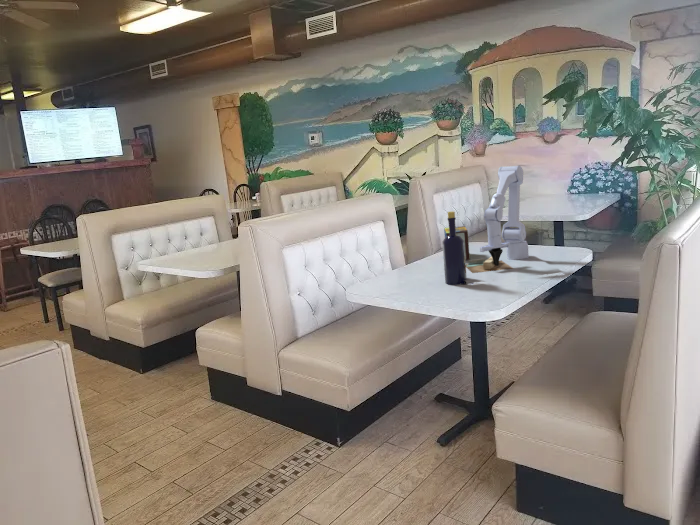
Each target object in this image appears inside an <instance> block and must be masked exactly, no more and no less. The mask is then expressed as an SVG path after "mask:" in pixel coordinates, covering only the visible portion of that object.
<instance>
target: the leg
mask: <svg viewBox="0 0 700 525" xmlns="http://www.w3.org/2000/svg"><path fill="white" fill-rule="evenodd" d="M494 266H495V265H494V261H493V258H492V256H491V255H490V257H489V258H487V259H485V262H483V268H484V269H491V268H493V267H494Z"/></svg>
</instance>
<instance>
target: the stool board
mask: <svg viewBox="0 0 700 525" xmlns="http://www.w3.org/2000/svg"><path fill="white" fill-rule="evenodd" d="M513 269H514V268H513V267H512V266H511V265H510V264H507V263H506V262H504V261H503V260H500V259H499V265H498V266H496V265H495V266H494V267H493V268H491V269H484V268H483V263H482V264H473V265H468V263H466V270H468V271H469V272H471V273H472V274H476V273H477V274H478V273H485V272H486V273H487V272H494V271H503V270H513Z"/></svg>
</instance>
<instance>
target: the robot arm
mask: <svg viewBox="0 0 700 525" xmlns="http://www.w3.org/2000/svg"><path fill="white" fill-rule="evenodd" d="M497 171H498V172H497V177H498V185H497V190H496V193H494V194H493V195H492V197H491V200H490V203H489V205H488V208H486V209H485V210H484V211H483V212H484V213H483V218H484V222H485V226H486V227H487V242H488V243H487V245H484V246H480V247H479V252H480V253H484V252H489V254H490V257H491V256H492V258H493V261H494V265H496V266H498V265H499V261H500V257H501V255H502V253H503V249H505V248H506V258H507V260H514V261H515V260H523V259H529V244H528V241H527V240H526V237H527V231H526V226H525V224H524V223H523V222H521V220H520V206H521V205H520V202H521V198H520V197H521V193H520V192H521V185H522V184H524V170H523V167H522V166H521V165H512V166H510V165H509V166H500V167H499V168H498V170H497ZM507 190H508V213H507V214H508V215H507V222H505V223H504V224H503V225H502V227H501V221H502V219H503V216H504V205H505V202H506V197H505V195H506V192H507ZM502 240H503V241H504V242H502Z"/></svg>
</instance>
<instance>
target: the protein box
mask: <svg viewBox="0 0 700 525" xmlns="http://www.w3.org/2000/svg"><path fill="white" fill-rule="evenodd" d="M455 227H456V235H459V236H461V238H462V239H463V240H464V248H465V261H468V260H471V259H470V243H469V231H468V229H467V228H466V226H464V225H462V226H461V225H460V226H455ZM443 232H444V238H445V237H447V236H450V233H449V227H444V229H443Z"/></svg>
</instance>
